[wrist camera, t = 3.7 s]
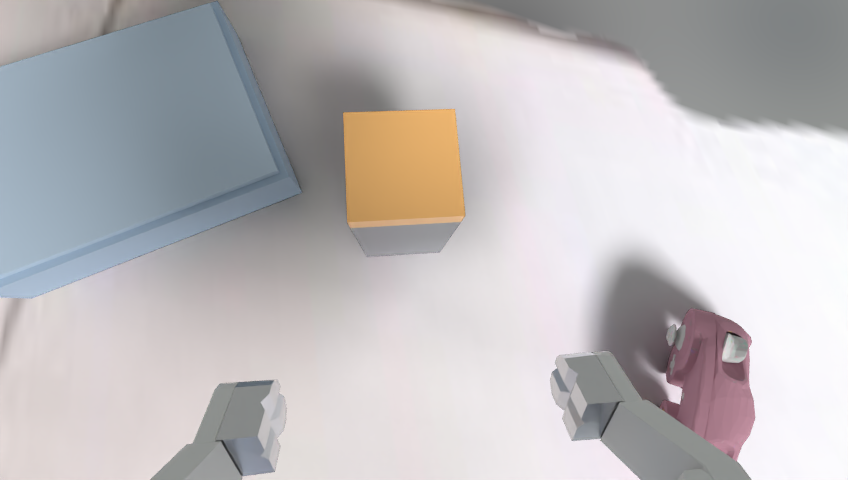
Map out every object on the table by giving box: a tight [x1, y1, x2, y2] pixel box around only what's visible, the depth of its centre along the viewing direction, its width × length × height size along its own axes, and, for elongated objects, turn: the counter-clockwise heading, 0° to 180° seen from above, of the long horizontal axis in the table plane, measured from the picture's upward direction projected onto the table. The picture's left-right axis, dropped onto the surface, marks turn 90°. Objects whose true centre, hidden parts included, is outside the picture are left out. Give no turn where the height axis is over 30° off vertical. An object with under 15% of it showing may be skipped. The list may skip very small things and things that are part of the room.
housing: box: [343, 109, 465, 257], centre depth 19 cm, size 4×4×9 cm
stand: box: [0, 1, 302, 298], centre depth 21 cm, size 16×12×3 cm
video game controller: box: [660, 308, 755, 461], centre depth 20 cm, size 10×5×7 cm, turn 162°
